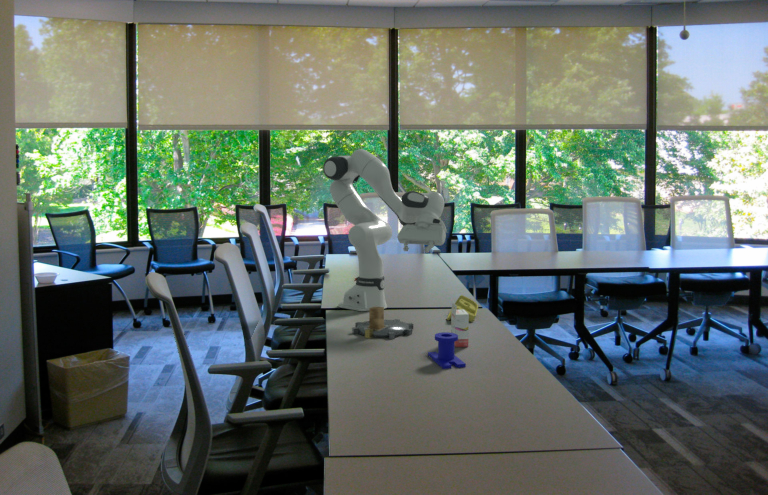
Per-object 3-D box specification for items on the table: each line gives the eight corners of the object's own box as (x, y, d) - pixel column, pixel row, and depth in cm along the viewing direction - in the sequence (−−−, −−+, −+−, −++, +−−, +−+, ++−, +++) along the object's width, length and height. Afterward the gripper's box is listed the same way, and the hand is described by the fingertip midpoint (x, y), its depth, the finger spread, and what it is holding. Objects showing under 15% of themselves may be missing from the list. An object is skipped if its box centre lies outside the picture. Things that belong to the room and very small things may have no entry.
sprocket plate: (340, 334, 234) (340, 326, 234) (371, 320, 255) (371, 313, 255) (395, 342, 223) (395, 334, 222) (424, 327, 244) (424, 320, 243)
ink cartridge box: (469, 347, 217) (469, 305, 215) (455, 347, 216) (455, 306, 214) (463, 340, 225) (464, 300, 223) (450, 340, 225) (450, 301, 223)
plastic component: (475, 317, 251) (453, 305, 252) (467, 332, 253) (445, 321, 254) (479, 303, 270) (458, 293, 271) (471, 317, 272) (451, 307, 273)
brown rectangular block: (369, 329, 234) (369, 308, 233) (374, 326, 237) (374, 306, 236) (378, 330, 232) (378, 309, 231) (383, 327, 235) (383, 307, 234)
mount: (427, 355, 207) (428, 330, 206) (449, 354, 209) (449, 328, 208) (443, 369, 193) (443, 342, 192) (465, 367, 194) (465, 340, 193)
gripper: (401, 219, 259) (390, 244, 252) (446, 220, 249) (436, 247, 242) (406, 229, 264) (395, 254, 256) (450, 230, 254) (440, 257, 246)
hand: (415, 251), depth 249 cm, fingers open, 8 cm apart
